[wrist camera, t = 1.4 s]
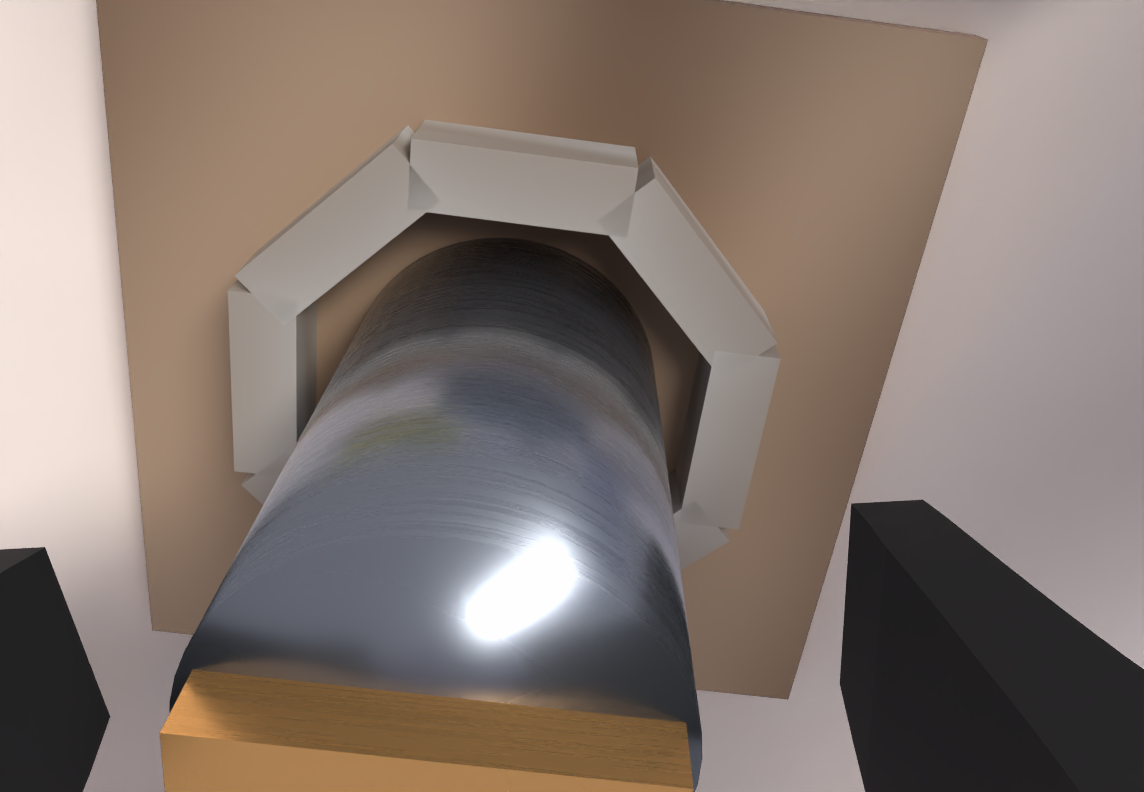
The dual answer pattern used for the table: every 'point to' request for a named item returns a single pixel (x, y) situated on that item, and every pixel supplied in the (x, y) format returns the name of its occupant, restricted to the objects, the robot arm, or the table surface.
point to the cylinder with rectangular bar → (458, 559)
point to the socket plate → (537, 213)
